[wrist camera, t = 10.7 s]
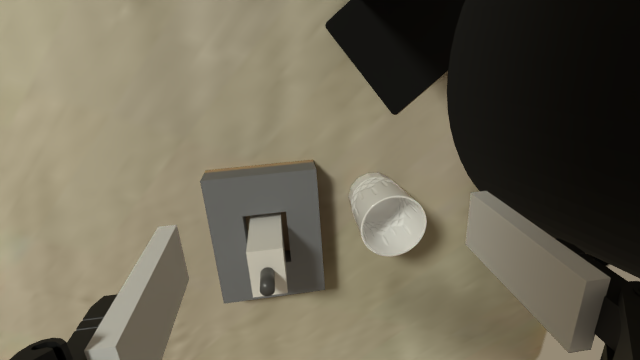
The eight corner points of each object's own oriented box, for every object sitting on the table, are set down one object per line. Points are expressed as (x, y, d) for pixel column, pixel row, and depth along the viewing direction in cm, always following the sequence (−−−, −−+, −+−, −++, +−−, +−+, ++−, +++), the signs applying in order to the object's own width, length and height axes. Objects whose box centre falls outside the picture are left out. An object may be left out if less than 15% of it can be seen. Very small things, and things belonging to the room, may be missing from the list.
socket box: (205, 170, 47) (200, 181, 44) (312, 159, 49) (316, 169, 45) (227, 285, 54) (223, 303, 50) (321, 273, 55) (324, 289, 51)
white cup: (385, 157, 50) (412, 183, 41) (407, 203, 53) (436, 237, 44) (334, 184, 50) (349, 216, 41) (358, 228, 53) (377, 267, 44)
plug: (250, 213, 49) (244, 268, 37) (280, 209, 50) (283, 263, 38) (256, 251, 51) (251, 315, 39) (284, 248, 52) (289, 310, 40)
